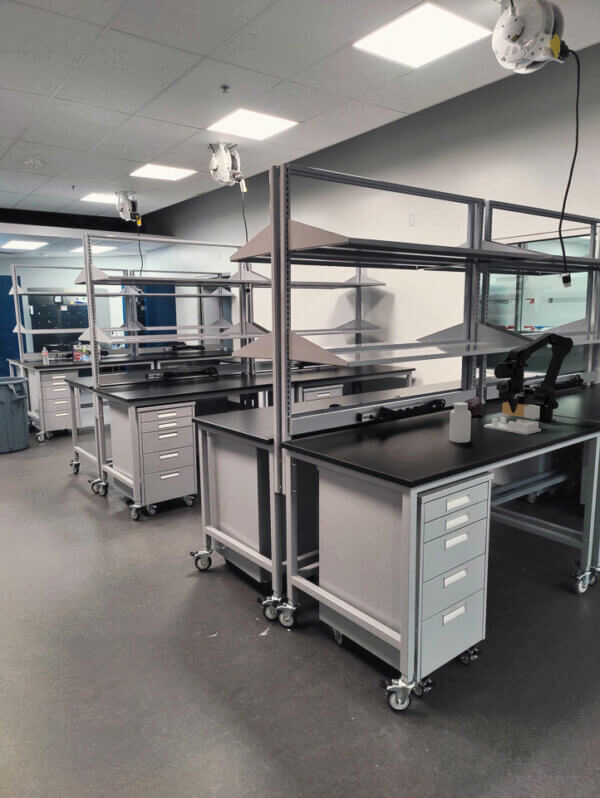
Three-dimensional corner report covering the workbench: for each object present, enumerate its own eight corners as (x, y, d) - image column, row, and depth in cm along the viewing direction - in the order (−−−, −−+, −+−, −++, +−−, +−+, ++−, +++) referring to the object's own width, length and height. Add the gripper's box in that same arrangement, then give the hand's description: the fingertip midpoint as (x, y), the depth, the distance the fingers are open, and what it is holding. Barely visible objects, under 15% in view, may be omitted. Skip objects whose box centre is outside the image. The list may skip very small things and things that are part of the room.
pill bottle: (455, 443, 208) (456, 405, 206) (445, 439, 216) (446, 402, 213) (474, 442, 210) (475, 404, 207) (463, 437, 217) (465, 401, 215)
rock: (457, 418, 263) (476, 420, 256) (456, 401, 261) (475, 403, 254) (468, 411, 271) (487, 413, 264) (467, 395, 269) (486, 396, 262)
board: (498, 423, 243) (499, 415, 242) (540, 431, 227) (541, 421, 226) (484, 427, 236) (484, 418, 236) (526, 434, 220) (526, 425, 220)
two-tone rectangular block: (507, 412, 247) (507, 401, 246) (539, 417, 234) (539, 406, 233) (501, 413, 244) (502, 403, 243) (533, 418, 232) (534, 407, 231)
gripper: (512, 374, 250) (511, 407, 253) (488, 377, 239) (487, 412, 242) (535, 376, 241) (533, 410, 244) (511, 379, 230) (509, 415, 233)
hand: (515, 412), depth 241 cm, fingers closed on two-tone rectangular block, 3 cm apart
